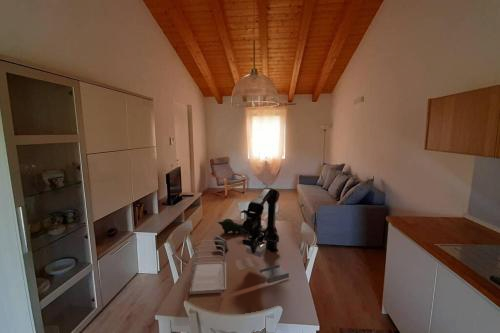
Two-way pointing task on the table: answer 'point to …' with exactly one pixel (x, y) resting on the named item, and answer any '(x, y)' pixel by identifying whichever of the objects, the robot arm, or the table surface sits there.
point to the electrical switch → (220, 243)
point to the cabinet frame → (274, 273)
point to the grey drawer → (257, 249)
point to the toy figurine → (231, 225)
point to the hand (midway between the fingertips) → (255, 251)
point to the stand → (245, 263)
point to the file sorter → (208, 273)
